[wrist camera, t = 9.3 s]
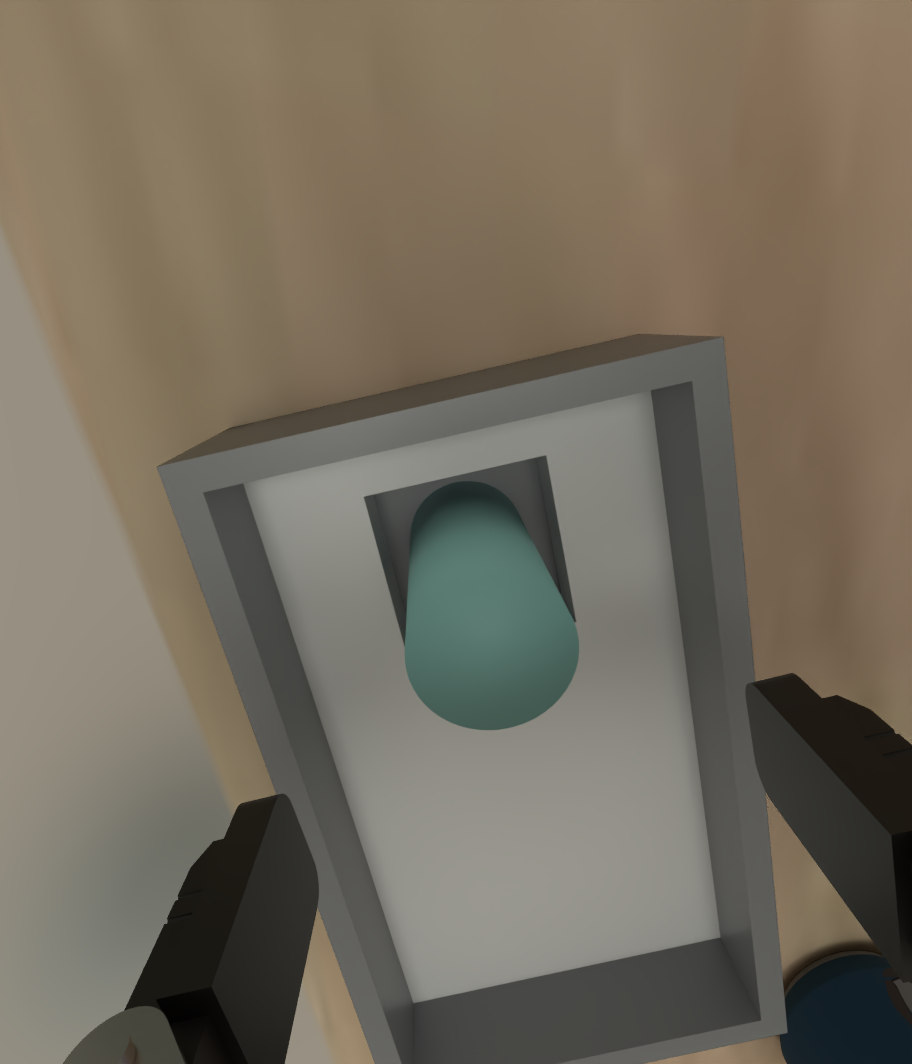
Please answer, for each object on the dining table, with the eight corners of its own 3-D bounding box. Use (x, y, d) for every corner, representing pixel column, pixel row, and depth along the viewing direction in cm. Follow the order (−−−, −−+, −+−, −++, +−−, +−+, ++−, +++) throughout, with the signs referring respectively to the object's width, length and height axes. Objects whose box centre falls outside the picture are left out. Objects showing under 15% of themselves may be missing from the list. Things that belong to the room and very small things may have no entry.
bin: (638, 334, 20) (723, 336, 15) (709, 883, 27) (787, 1033, 21) (230, 428, 21) (157, 466, 15) (399, 950, 27) (394, 1116, 21)
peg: (545, 522, 21) (614, 634, 14) (478, 607, 22) (508, 758, 14) (454, 458, 20) (474, 538, 13) (388, 549, 21) (369, 675, 14)
